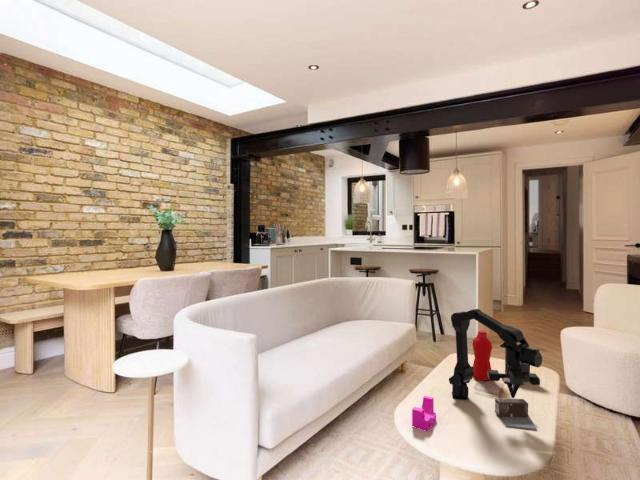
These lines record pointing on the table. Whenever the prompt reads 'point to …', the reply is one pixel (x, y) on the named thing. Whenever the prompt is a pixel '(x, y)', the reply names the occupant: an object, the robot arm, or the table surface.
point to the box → (511, 407)
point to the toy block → (424, 414)
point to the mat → (519, 422)
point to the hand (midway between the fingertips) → (512, 397)
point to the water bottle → (481, 356)
